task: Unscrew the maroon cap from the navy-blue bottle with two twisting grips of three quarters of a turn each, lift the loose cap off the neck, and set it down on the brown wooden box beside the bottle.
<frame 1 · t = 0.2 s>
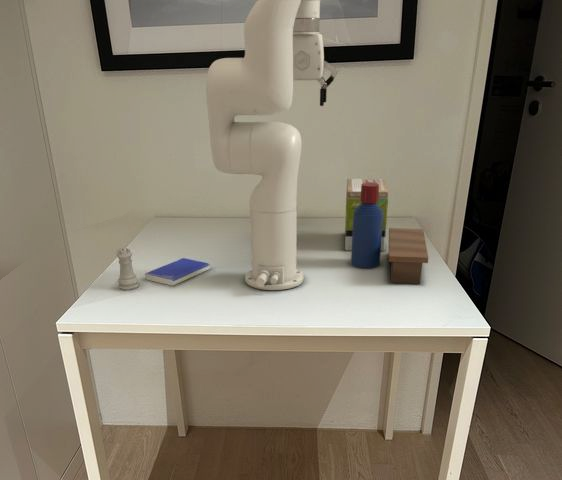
hand: (303, 105, 149), 31 cm above the table, tool pointing down, fingers open, 9 cm apart
brown wooden box: (404, 268, 132), on the table
blue book: (178, 275, 130), on the table
tea box: (363, 243, 150), on the table
rook chess piece: (129, 287, 123), on the table
bottle: (365, 263, 135), on the table
cap: (370, 186, 126), point 18 cm above the table, screwed on, not yet turned
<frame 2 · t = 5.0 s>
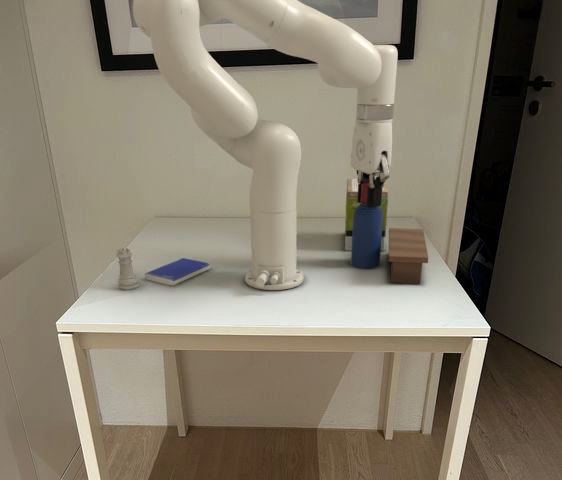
hand: (369, 203, 128), 14 cm above the table, tool pointing down, fingers closed on cap, 3 cm apart
cap: (370, 186, 126), point 18 cm above the table, screwed on, not yet turned, touching gripper
everything else where it was.
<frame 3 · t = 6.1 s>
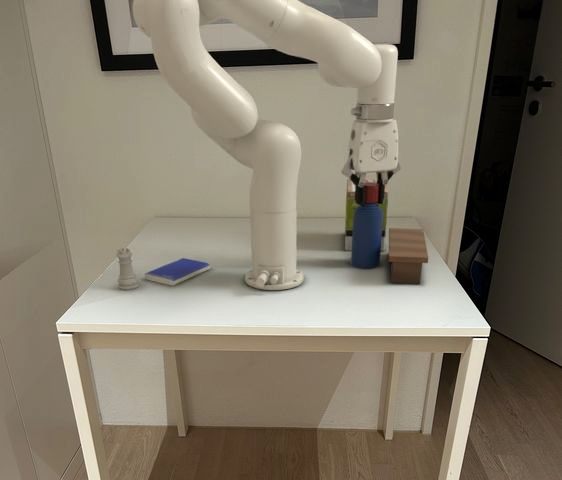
hand: (369, 202, 128), 14 cm above the table, tool pointing down, fingers closed on cap, 3 cm apart
cap: (370, 185, 126), point 18 cm above the table, turned 90° so far, risen 0.1 cm, still on its thread, touching gripper
everything else where it was.
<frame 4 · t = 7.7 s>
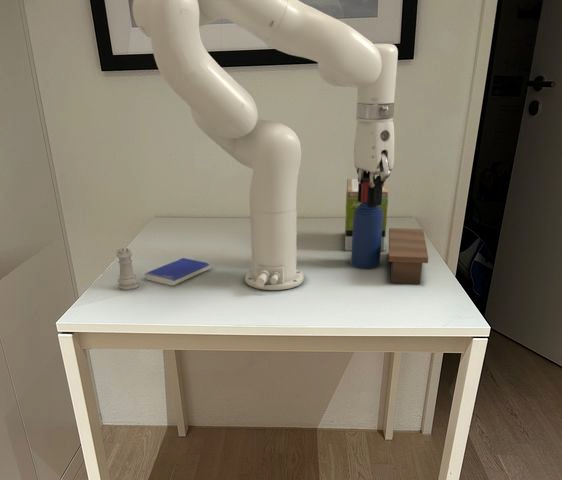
hand: (369, 202, 128), 14 cm above the table, tool pointing down, fingers closed on cap, 3 cm apart
cap: (370, 185, 126), point 18 cm above the table, turned 180° so far, risen 0.2 cm, still on its thread, touching gripper
everything else where it was.
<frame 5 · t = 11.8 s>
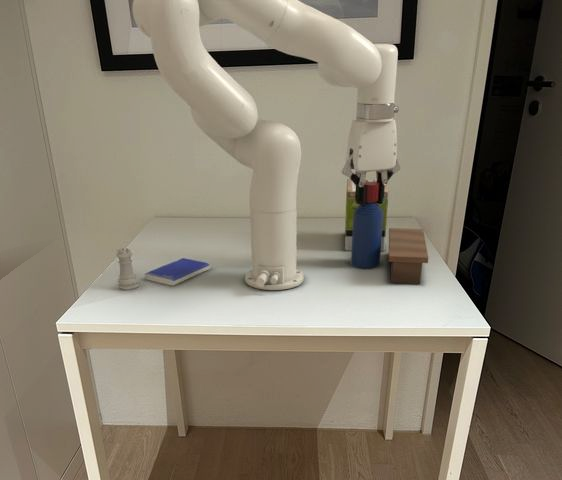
hand: (369, 202, 128), 14 cm above the table, tool pointing down, fingers closed on cap, 3 cm apart
cap: (370, 184, 126), point 18 cm above the table, turned 270° so far, risen 0.3 cm, still on its thread, touching gripper
everything else where it was.
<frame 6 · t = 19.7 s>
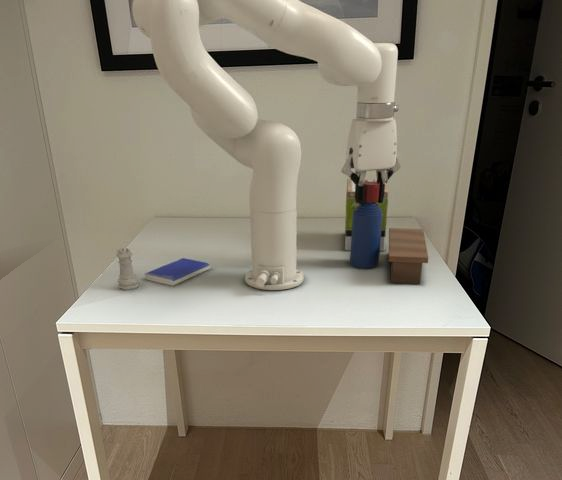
hand: (369, 201, 128), 14 cm above the table, tool pointing down, fingers closed on cap, 3 cm apart
bottle: (364, 264, 135), on the table, touching cap, gripper
cap: (371, 184, 126), point 18 cm above the table, off its thread, touching bottle, gripper
everything else where it was.
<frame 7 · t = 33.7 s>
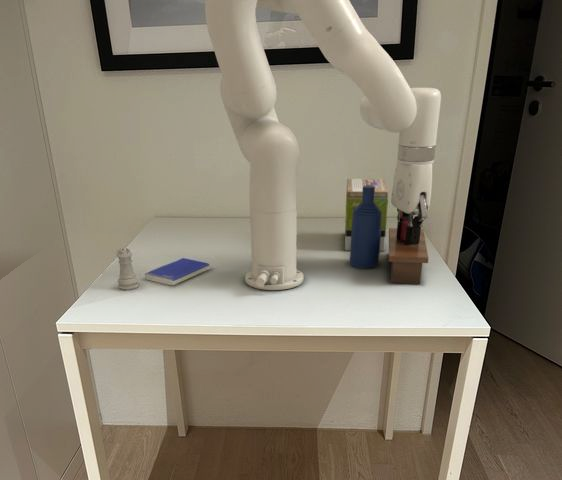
hand: (407, 240, 129), 6 cm above the table, tool pointing down, fingers closed on cap, 3 cm apart
bottle: (364, 264, 135), on the table
cap: (410, 223, 127), point 10 cm above the table, off its thread, touching gripper
everything else where it was.
when the fingers open (7 cm above the table, at t = 37.5 s): cap drops 1 cm, resting on brown wooden box.
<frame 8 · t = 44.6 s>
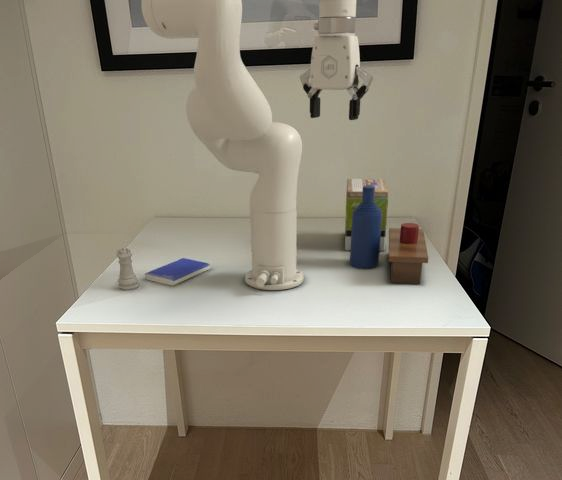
hand: (334, 118, 128), 30 cm above the table, tool pointing down, fingers open, 9 cm apart
cap: (409, 226, 127), point 10 cm above the table, off its thread, touching brown wooden box
everything else where it was.
at the end: cap inside the target area on the brown wooden box (0.2 cm from its centre), point 9.5 cm above the brown wooden box's base; cap tilted 0°; bottle tilted 0° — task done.
